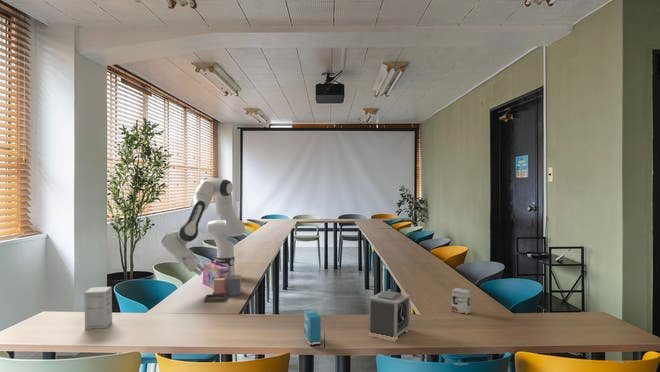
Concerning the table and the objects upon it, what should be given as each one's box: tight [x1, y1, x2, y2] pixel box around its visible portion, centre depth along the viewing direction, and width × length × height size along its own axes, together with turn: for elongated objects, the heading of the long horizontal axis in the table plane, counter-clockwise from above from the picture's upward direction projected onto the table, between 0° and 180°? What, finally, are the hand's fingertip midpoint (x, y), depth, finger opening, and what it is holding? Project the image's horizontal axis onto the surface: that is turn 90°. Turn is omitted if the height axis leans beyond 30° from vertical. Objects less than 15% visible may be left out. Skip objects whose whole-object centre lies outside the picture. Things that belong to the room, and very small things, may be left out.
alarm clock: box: [368, 290, 411, 337], centre depth 206 cm, size 18×13×18 cm
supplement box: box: [83, 286, 113, 330], centre depth 212 cm, size 10×9×17 cm
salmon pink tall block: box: [213, 278, 226, 294], centre depth 268 cm, size 6×3×9 cm, turn 98°
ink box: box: [451, 287, 472, 312], centre depth 238 cm, size 9×5×12 cm, turn 47°
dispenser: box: [212, 274, 242, 297], centre depth 269 cm, size 16×10×10 cm, turn 98°
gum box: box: [202, 261, 230, 291], centre depth 287 cm, size 24×8×14 cm, turn 41°
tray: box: [204, 293, 227, 303], centre depth 257 cm, size 11×9×2 cm
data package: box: [303, 309, 322, 343], centre depth 195 cm, size 12×4×12 cm, turn 16°
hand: (202, 272), depth 266 cm, fingers open, 8 cm apart
